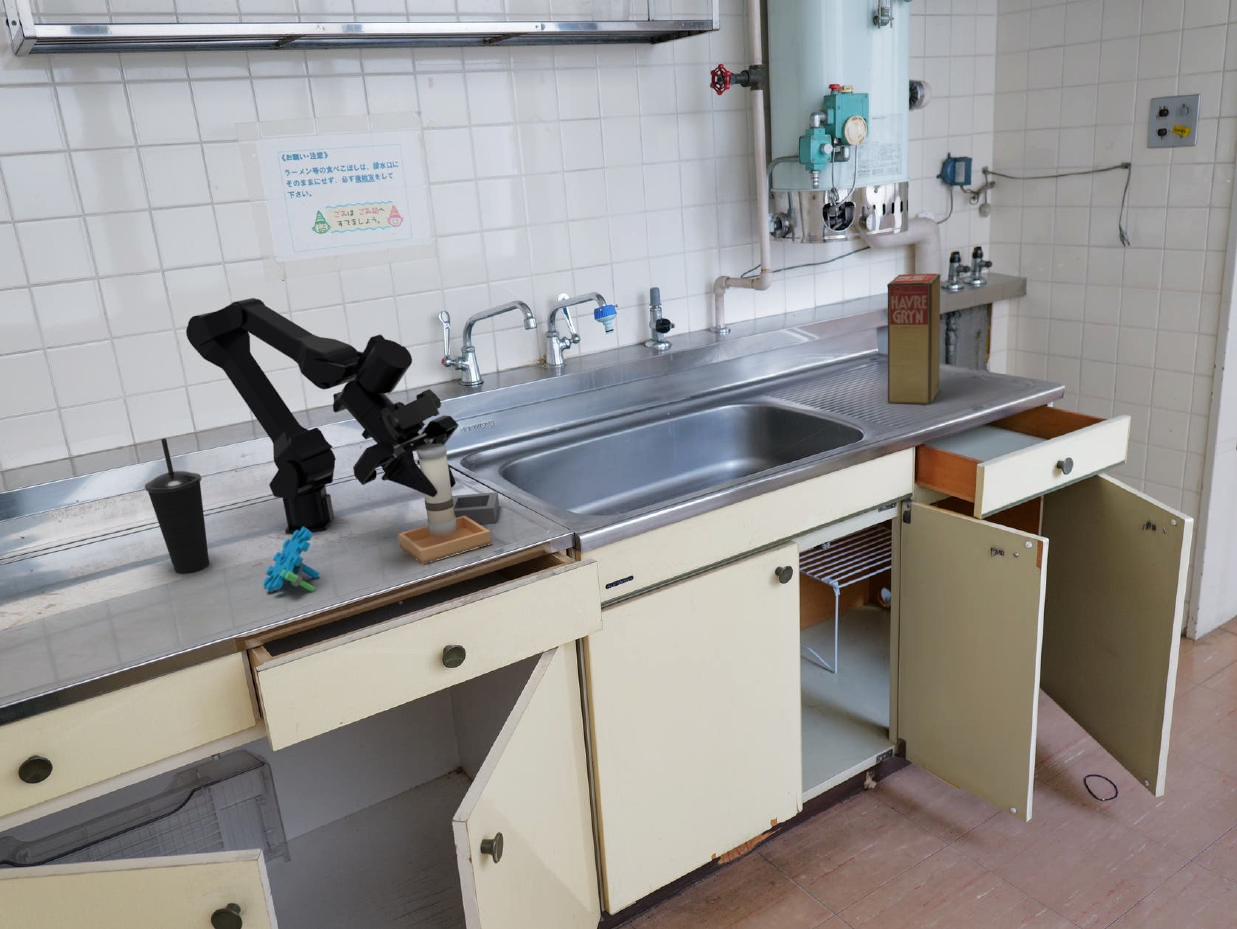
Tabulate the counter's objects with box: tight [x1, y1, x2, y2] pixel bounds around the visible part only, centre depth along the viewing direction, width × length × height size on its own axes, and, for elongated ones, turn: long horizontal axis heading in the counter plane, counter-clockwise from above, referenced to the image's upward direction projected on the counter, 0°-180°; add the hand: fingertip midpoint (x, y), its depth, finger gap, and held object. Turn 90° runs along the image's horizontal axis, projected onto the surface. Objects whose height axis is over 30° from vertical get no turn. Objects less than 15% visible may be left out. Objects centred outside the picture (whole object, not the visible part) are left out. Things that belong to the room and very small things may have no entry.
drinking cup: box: [144, 438, 210, 574], centre depth 146 cm, size 8×8×20 cm
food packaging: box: [886, 273, 941, 406], centre depth 207 cm, size 13×9×25 cm
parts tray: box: [397, 515, 492, 565], centre depth 149 cm, size 11×9×2 cm
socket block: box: [452, 491, 500, 525], centre depth 160 cm, size 8×8×2 cm
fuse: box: [416, 444, 457, 536], centre depth 146 cm, size 4×4×13 cm
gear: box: [262, 527, 320, 593], centre depth 139 cm, size 11×6×10 cm
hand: (444, 490), depth 146 cm, fingers closed on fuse, 4 cm apart
